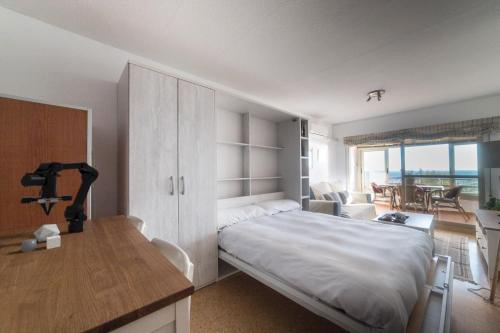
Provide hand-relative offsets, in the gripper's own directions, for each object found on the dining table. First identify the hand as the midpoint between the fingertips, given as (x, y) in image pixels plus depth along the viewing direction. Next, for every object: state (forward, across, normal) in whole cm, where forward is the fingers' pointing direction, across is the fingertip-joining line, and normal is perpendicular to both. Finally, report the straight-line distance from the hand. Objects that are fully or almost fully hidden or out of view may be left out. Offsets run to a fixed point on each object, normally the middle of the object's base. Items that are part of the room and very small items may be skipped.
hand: (47, 215), depth 105 cm
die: (+13, 0, 0) cm, 13 cm away
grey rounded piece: (+13, +4, +14) cm, 20 cm away
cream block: (+13, -4, +14) cm, 20 cm away
